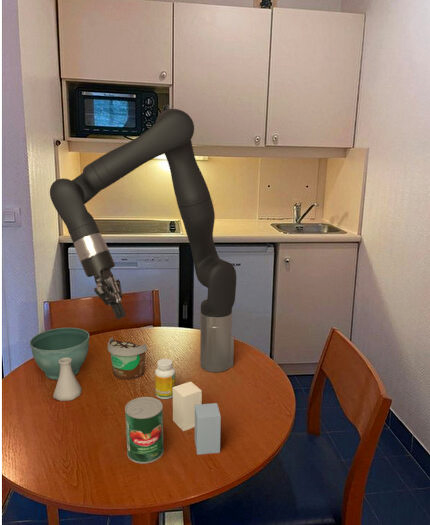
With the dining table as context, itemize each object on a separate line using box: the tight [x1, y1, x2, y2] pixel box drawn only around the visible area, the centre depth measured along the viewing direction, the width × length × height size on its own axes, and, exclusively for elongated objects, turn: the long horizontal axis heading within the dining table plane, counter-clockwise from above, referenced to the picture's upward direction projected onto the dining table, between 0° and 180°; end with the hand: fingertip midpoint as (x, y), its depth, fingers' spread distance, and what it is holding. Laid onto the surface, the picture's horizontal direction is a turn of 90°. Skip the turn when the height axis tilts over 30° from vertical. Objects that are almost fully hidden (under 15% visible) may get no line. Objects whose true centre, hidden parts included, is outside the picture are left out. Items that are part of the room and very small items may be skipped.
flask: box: [52, 358, 83, 402], centre depth 118 cm, size 7×7×10 cm
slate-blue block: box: [194, 402, 222, 455], centre depth 98 cm, size 5×5×9 cm
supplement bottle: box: [154, 358, 176, 400], centre depth 118 cm, size 5×5×10 cm
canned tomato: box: [124, 396, 165, 465], centre depth 96 cm, size 8×8×11 cm
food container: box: [106, 336, 148, 381], centre depth 127 cm, size 12×6×10 cm, turn 68°
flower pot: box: [29, 327, 90, 381], centre depth 129 cm, size 16×16×11 cm
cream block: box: [172, 381, 203, 432], centre depth 106 cm, size 5×5×9 cm
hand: (121, 317), depth 113 cm, fingers closed
